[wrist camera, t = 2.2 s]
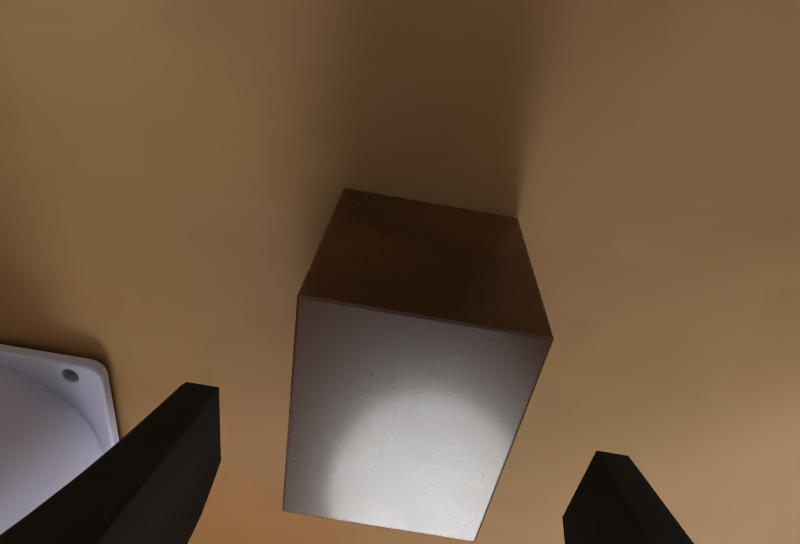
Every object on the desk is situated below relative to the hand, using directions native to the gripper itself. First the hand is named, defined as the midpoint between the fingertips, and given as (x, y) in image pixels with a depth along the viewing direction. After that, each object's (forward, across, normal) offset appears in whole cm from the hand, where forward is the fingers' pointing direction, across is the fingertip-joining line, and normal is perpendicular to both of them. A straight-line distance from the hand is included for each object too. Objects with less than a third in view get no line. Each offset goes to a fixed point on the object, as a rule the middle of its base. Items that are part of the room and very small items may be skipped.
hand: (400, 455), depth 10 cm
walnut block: (+6, 0, 0) cm, 6 cm away
